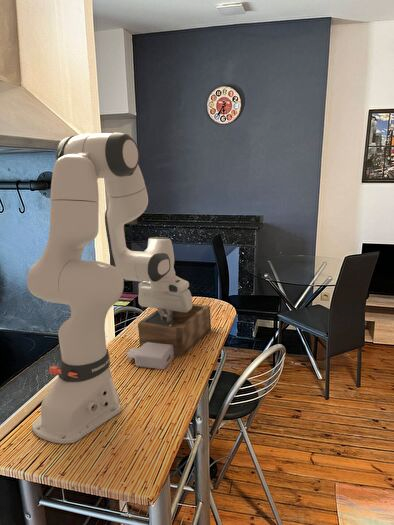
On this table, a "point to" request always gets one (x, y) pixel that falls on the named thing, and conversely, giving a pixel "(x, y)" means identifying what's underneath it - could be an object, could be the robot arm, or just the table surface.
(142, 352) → the charger
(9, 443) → the table surface
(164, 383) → the table surface
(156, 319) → the tailgate
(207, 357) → the table surface
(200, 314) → the crate
